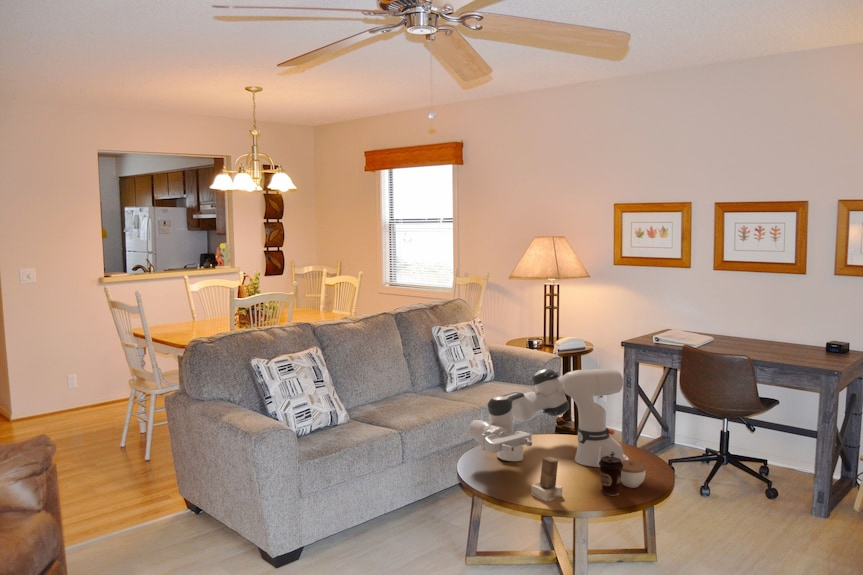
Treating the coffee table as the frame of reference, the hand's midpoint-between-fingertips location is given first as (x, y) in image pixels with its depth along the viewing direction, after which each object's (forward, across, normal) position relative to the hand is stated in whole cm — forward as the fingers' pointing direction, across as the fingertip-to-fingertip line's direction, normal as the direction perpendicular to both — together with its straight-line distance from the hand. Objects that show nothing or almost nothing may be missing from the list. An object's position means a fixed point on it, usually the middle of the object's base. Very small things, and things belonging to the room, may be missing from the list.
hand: (521, 446), depth 260 cm
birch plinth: (+13, 0, -16) cm, 20 cm away
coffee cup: (+25, -21, -16) cm, 36 cm away
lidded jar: (+24, -34, -16) cm, 44 cm away
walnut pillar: (+13, 0, -11) cm, 18 cm away
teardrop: (-25, -15, -15) cm, 32 cm away
